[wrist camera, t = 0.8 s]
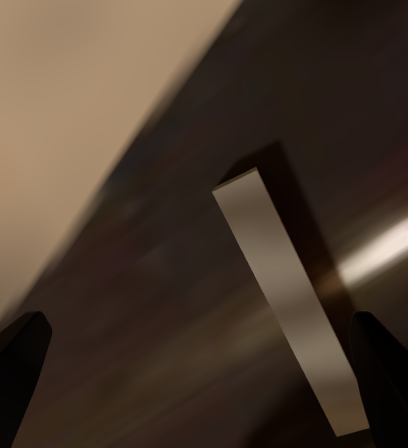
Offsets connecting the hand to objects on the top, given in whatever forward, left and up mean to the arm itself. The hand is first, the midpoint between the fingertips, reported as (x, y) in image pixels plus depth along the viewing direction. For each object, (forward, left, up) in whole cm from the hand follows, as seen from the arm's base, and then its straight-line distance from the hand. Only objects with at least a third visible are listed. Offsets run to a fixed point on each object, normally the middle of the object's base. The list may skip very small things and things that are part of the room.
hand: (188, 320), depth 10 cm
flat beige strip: (-8, -2, -14) cm, 16 cm away
